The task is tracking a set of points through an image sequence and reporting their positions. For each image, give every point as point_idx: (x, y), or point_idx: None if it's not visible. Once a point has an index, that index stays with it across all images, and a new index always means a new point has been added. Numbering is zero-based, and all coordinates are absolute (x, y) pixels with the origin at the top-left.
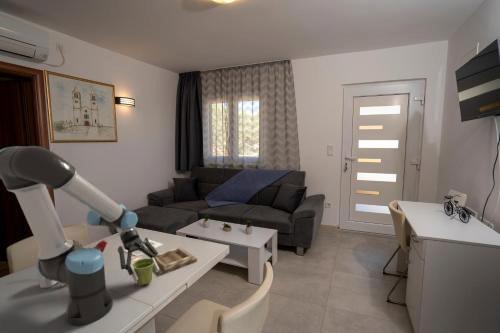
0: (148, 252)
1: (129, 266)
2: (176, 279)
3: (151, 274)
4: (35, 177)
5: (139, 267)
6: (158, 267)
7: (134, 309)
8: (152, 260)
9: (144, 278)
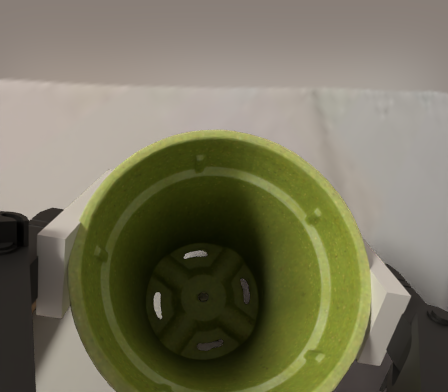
0: (25, 317)
1: (422, 310)
2: (57, 131)
3: (176, 221)
4: None
5: (203, 382)
6: (104, 176)
7: (382, 138)
8: (91, 229)
9: (248, 228)
